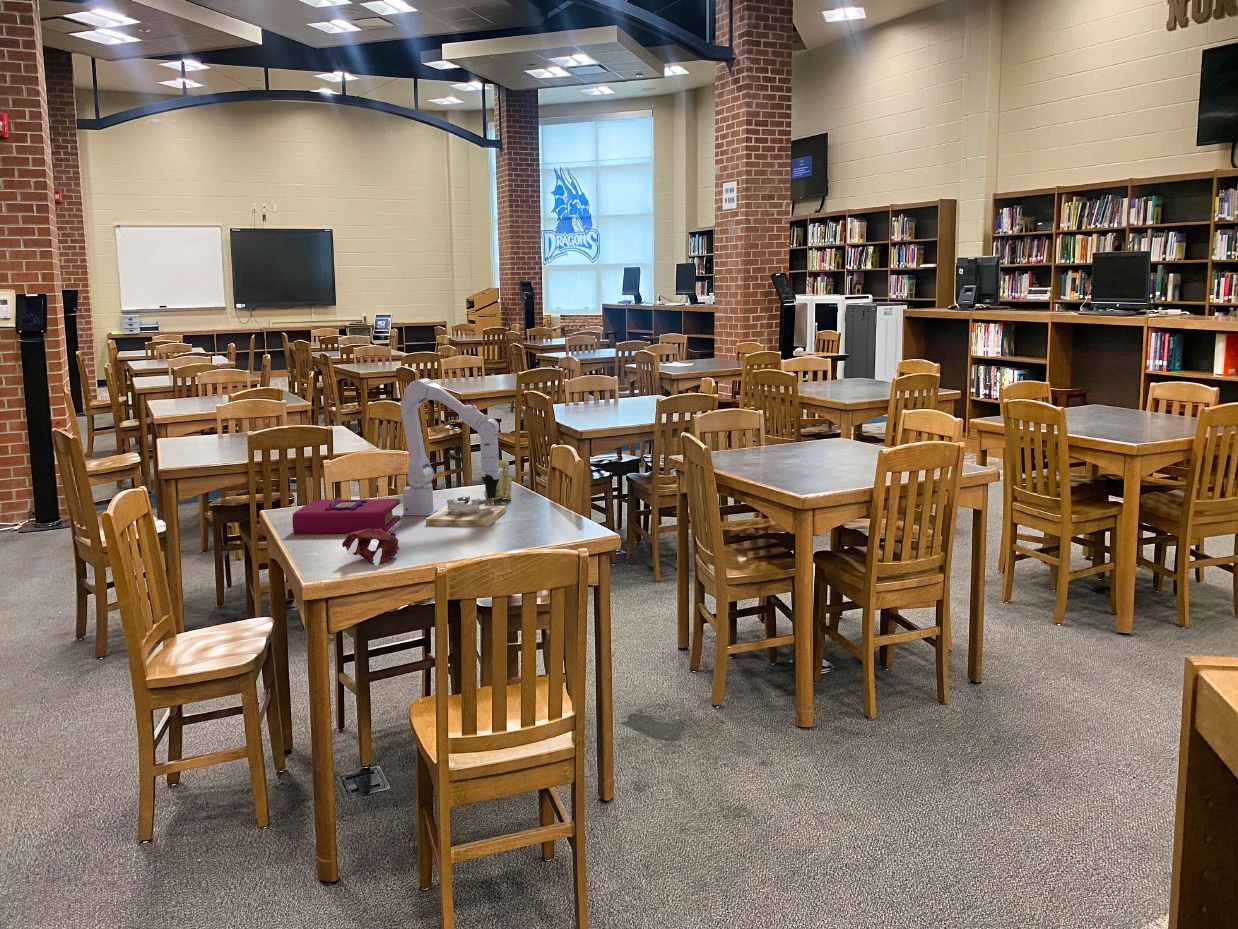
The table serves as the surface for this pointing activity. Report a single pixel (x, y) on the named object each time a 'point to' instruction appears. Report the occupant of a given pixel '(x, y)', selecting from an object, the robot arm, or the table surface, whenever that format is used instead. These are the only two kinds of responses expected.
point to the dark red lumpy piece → (372, 545)
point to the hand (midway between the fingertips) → (491, 497)
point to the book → (345, 516)
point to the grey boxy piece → (466, 505)
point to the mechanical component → (503, 483)
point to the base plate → (467, 517)
